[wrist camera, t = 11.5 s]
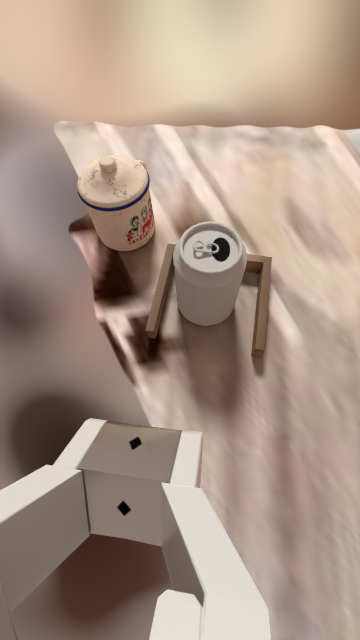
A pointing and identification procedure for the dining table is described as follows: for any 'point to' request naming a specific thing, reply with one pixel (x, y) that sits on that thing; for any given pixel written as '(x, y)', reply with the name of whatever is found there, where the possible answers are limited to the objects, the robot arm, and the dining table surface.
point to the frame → (253, 265)
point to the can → (208, 272)
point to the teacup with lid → (118, 201)
